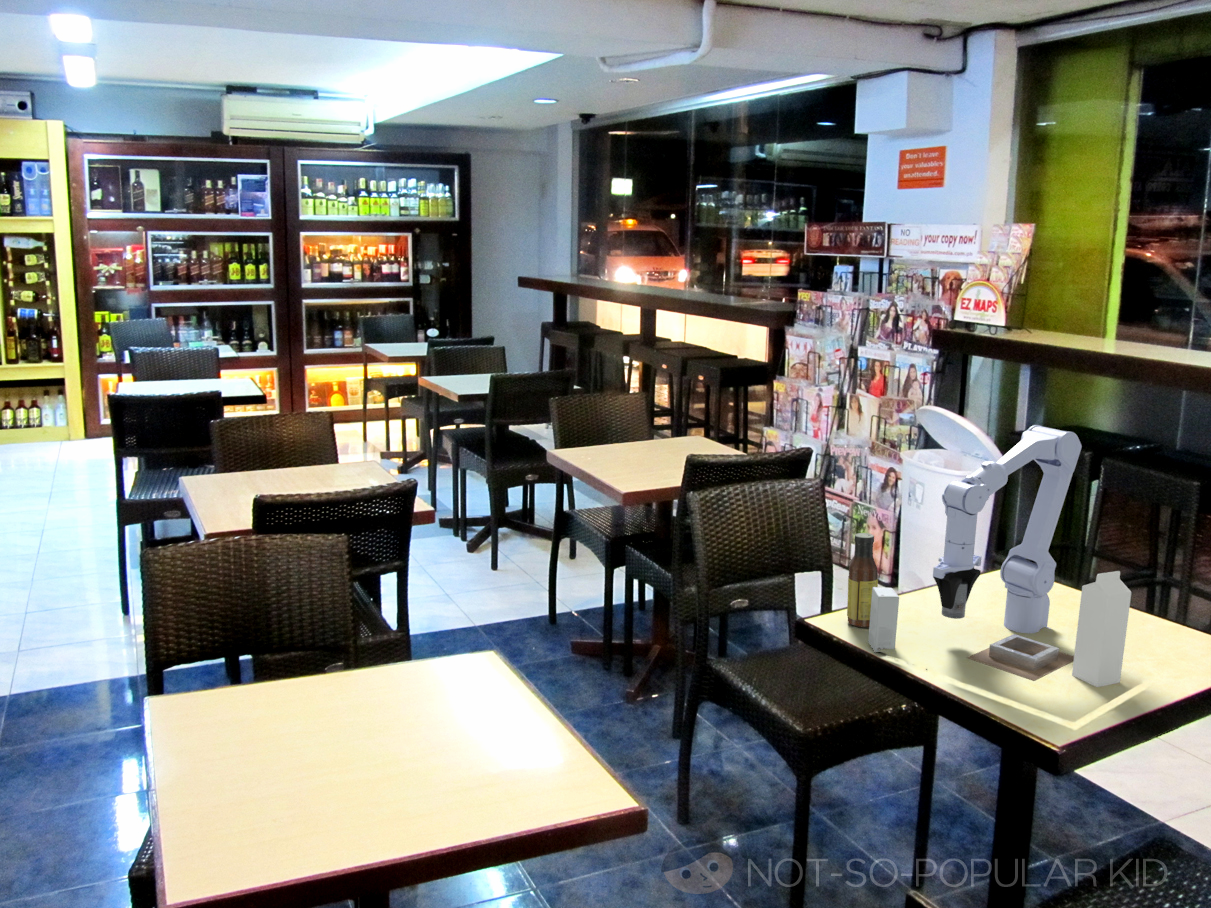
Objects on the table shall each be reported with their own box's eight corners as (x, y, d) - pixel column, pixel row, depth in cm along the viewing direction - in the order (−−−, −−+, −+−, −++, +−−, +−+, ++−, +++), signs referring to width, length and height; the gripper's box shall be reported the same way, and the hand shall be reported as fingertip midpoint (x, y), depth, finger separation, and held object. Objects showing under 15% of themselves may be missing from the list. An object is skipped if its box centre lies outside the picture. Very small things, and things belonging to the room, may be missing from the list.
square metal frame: (1013, 645, 216) (1014, 634, 215) (1057, 659, 209) (1059, 648, 208) (988, 656, 210) (989, 644, 209) (1033, 671, 203) (1035, 659, 202)
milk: (1119, 687, 199) (1135, 575, 194) (1095, 692, 196) (1111, 579, 192) (1093, 675, 204) (1107, 566, 199) (1069, 679, 202) (1084, 569, 197)
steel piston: (949, 609, 219) (952, 577, 217) (968, 615, 215) (972, 582, 214) (937, 614, 216) (940, 581, 215) (956, 620, 213) (959, 587, 211)
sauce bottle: (879, 622, 230) (886, 534, 226) (870, 631, 224) (877, 541, 220) (850, 616, 233) (856, 529, 229) (840, 624, 228) (846, 535, 224)
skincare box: (895, 653, 212) (899, 597, 210) (874, 653, 213) (878, 596, 210) (888, 642, 218) (892, 587, 216) (867, 641, 219) (871, 586, 216)
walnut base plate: (1013, 641, 220) (1013, 636, 220) (1078, 662, 210) (1079, 657, 210) (966, 662, 209) (966, 657, 209) (1033, 685, 198) (1033, 680, 198)
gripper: (961, 530, 220) (956, 592, 223) (921, 542, 211) (916, 607, 214) (992, 538, 215) (986, 601, 218) (953, 550, 206) (947, 616, 208)
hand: (954, 605), depth 215 cm, fingers closed on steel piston, 4 cm apart
